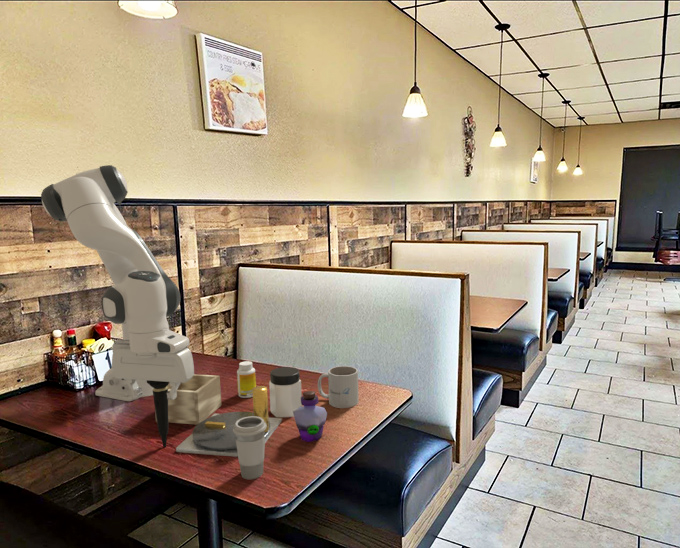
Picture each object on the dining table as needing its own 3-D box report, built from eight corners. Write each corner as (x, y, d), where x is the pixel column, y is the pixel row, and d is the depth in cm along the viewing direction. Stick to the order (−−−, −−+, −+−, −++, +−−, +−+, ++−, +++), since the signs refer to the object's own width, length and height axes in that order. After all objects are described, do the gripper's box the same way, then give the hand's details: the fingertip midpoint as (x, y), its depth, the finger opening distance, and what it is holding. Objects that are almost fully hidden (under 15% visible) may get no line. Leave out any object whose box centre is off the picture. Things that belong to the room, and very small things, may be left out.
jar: (306, 414, 134) (304, 373, 132) (279, 421, 130) (277, 379, 128) (293, 403, 141) (291, 364, 140) (267, 409, 138) (265, 369, 136)
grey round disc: (177, 446, 115) (174, 399, 113) (214, 412, 133) (212, 372, 132) (254, 453, 111) (251, 404, 109) (281, 417, 129) (279, 375, 127)
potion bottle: (305, 450, 114) (303, 402, 112) (286, 437, 121) (285, 391, 119) (335, 440, 119) (333, 393, 117) (315, 427, 126) (314, 383, 124)
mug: (364, 401, 142) (363, 369, 140) (347, 412, 135) (347, 378, 133) (330, 393, 149) (329, 362, 147) (313, 403, 142) (311, 370, 140)
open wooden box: (155, 421, 132) (153, 389, 130) (181, 402, 144) (179, 373, 143) (199, 424, 129) (197, 392, 128) (221, 405, 141) (219, 375, 140)
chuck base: (176, 451, 115) (176, 447, 115) (214, 416, 134) (214, 413, 134) (253, 459, 110) (253, 455, 110) (281, 421, 129) (281, 418, 129)
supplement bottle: (259, 395, 148) (258, 363, 147) (243, 400, 145) (241, 367, 143) (250, 390, 153) (249, 359, 151) (234, 395, 149) (233, 363, 148)
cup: (243, 487, 99) (240, 432, 98) (230, 473, 105) (227, 421, 103) (274, 475, 103) (272, 422, 102) (260, 463, 109) (257, 412, 107)
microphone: (147, 449, 116) (140, 369, 113) (165, 439, 121) (159, 362, 118) (163, 454, 114) (157, 372, 111) (181, 443, 119) (176, 365, 116)
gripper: (102, 342, 113) (108, 399, 114) (180, 346, 107) (184, 405, 109) (121, 335, 119) (126, 389, 121) (195, 338, 114) (199, 395, 115)
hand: (154, 397), depth 115 cm, fingers open, 8 cm apart
